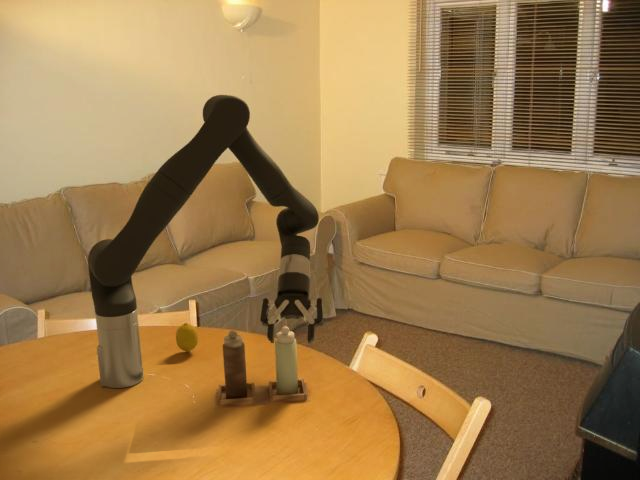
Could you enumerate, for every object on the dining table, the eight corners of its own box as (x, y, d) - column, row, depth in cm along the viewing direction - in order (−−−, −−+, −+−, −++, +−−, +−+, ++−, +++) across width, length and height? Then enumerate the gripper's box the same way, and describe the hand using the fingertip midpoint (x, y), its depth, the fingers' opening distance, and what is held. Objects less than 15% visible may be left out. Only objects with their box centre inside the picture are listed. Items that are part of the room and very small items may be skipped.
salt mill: (277, 398, 156) (274, 331, 152) (276, 388, 160) (273, 323, 156) (298, 396, 156) (296, 329, 152) (297, 387, 161) (295, 322, 157)
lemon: (201, 348, 187) (199, 319, 185) (196, 357, 182) (193, 326, 180) (180, 348, 187) (178, 318, 185) (174, 356, 182) (171, 326, 180)
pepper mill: (225, 402, 154) (221, 335, 151) (226, 392, 159) (221, 327, 155) (247, 400, 155) (243, 333, 151) (247, 391, 159) (243, 325, 156)
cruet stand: (215, 413, 152) (214, 402, 152) (216, 394, 161) (216, 384, 161) (310, 405, 154) (309, 395, 154) (306, 387, 163) (306, 377, 162)
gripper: (262, 270, 169) (256, 335, 161) (323, 270, 168) (320, 335, 160) (266, 285, 176) (261, 348, 167) (325, 285, 174) (323, 348, 166)
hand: (290, 342), depth 164 cm, fingers open, 8 cm apart
